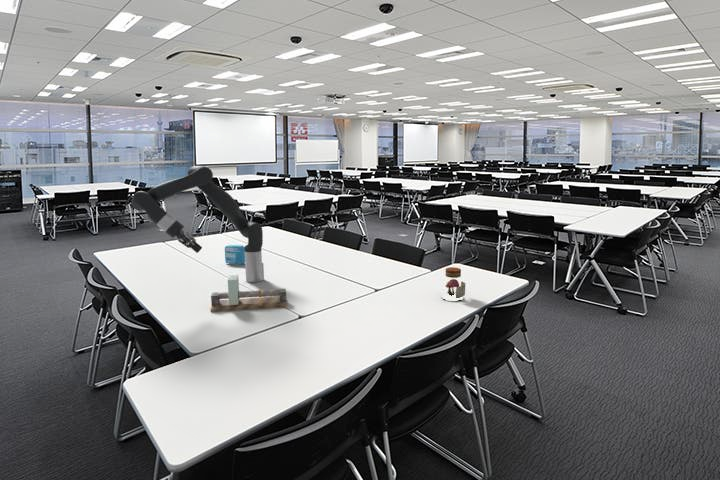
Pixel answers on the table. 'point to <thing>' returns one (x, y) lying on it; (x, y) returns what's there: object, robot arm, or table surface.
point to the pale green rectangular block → (233, 289)
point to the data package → (234, 254)
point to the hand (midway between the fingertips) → (199, 250)
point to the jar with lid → (455, 282)
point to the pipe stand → (249, 300)
